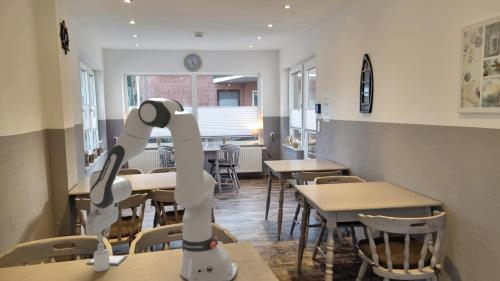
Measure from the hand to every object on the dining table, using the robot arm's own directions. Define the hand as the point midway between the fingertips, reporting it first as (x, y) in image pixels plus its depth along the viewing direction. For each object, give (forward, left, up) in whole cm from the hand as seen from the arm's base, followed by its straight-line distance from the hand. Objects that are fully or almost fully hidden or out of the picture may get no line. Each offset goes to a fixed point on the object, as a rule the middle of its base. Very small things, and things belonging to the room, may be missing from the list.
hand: (103, 238), depth 148 cm
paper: (-2, +2, -9) cm, 10 cm away
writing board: (-2, +2, -9) cm, 10 cm away
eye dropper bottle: (-4, +10, -10) cm, 14 cm away
